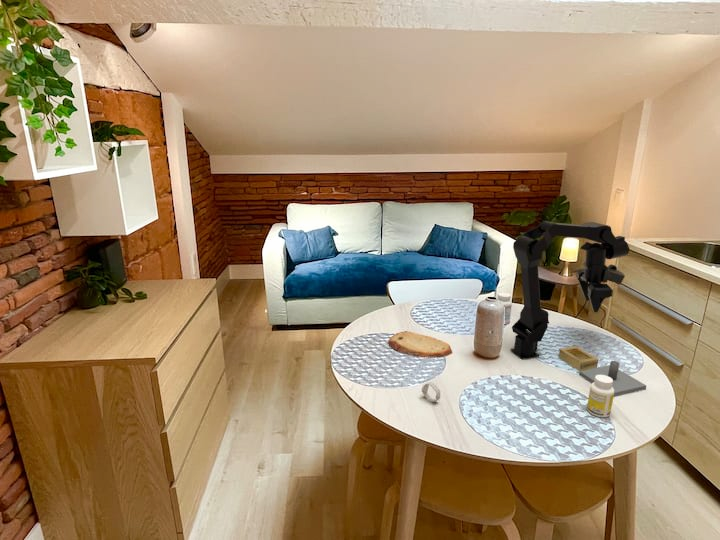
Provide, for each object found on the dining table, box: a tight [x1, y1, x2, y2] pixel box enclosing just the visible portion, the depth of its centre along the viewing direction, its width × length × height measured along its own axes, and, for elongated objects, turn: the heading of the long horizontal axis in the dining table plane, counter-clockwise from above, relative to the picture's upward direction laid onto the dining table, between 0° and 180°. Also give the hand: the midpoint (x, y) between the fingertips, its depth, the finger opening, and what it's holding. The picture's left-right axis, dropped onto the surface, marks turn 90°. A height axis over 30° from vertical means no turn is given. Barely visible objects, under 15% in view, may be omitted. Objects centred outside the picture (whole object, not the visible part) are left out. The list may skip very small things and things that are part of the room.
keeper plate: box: [578, 360, 647, 397], centre depth 125 cm, size 12×12×6 cm
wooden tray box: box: [558, 345, 599, 372], centre depth 136 cm, size 7×9×3 cm
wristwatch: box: [421, 381, 441, 403], centre depth 117 cm, size 3×5×5 cm, turn 41°
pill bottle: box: [495, 292, 513, 325], centre depth 165 cm, size 6×6×11 cm
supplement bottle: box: [586, 375, 615, 418], centre depth 111 cm, size 5×5×10 cm
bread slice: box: [387, 330, 453, 359], centre depth 146 cm, size 18×18×4 cm
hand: (591, 306), depth 144 cm, fingers open, 9 cm apart
